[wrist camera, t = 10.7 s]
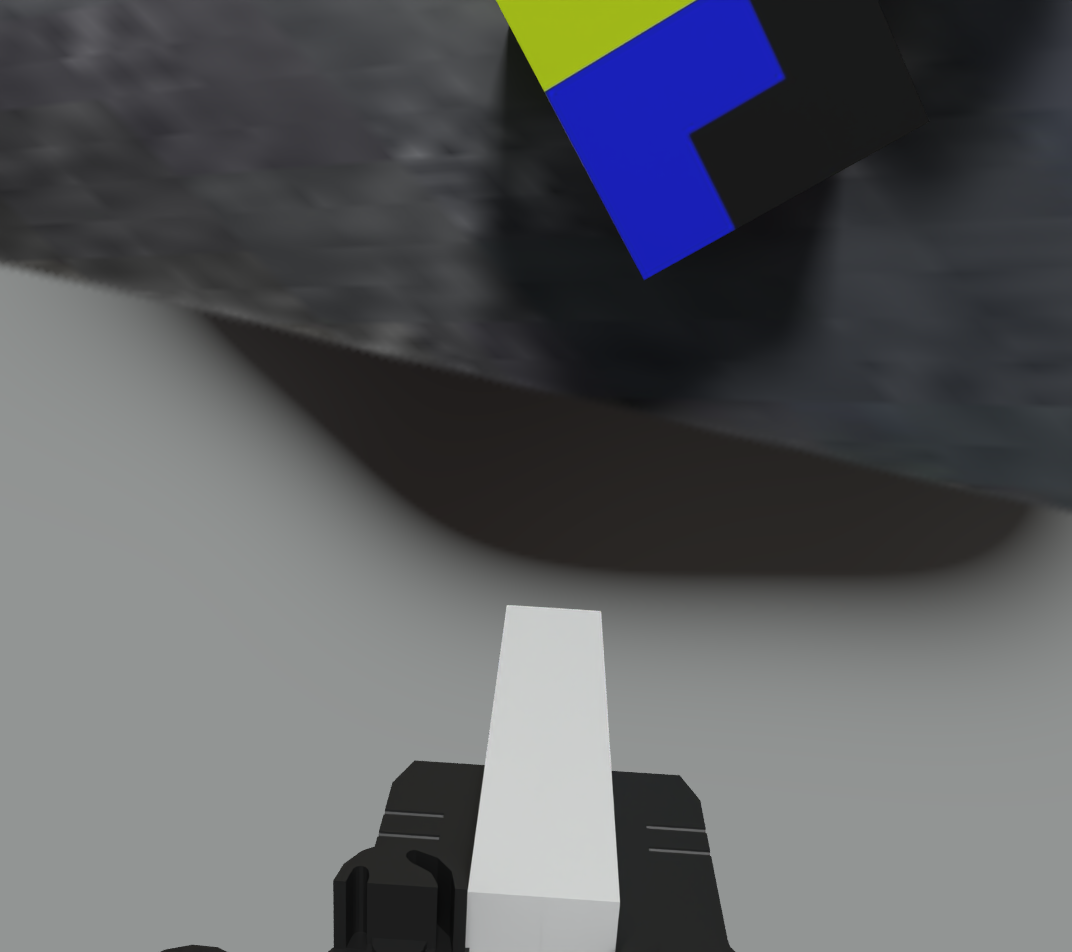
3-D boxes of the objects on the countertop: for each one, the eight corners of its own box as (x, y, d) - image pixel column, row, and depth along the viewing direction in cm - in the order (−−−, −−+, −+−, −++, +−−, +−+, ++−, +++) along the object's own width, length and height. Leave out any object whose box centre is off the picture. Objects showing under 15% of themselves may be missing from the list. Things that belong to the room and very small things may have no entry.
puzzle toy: (627, 249, 43) (644, 280, 34) (508, 25, 41) (490, -10, 31) (846, 126, 41) (929, 121, 32) (737, -117, 39) (791, -200, 29)
